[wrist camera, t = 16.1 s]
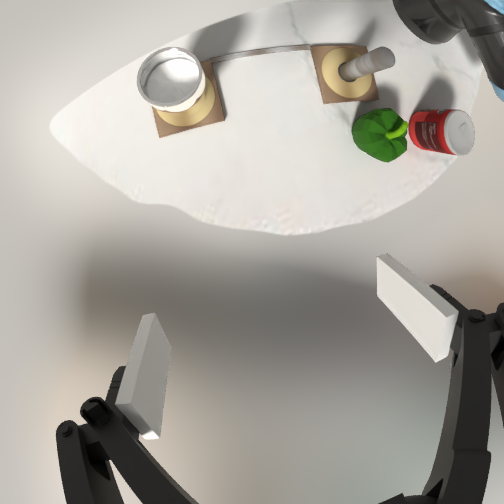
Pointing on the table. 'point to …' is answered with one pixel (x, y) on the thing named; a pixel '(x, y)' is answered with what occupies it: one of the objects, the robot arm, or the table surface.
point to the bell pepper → (381, 134)
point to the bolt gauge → (328, 73)
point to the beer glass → (173, 81)
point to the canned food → (442, 131)
